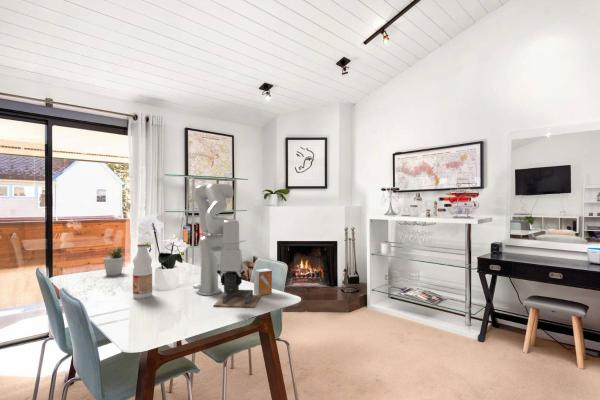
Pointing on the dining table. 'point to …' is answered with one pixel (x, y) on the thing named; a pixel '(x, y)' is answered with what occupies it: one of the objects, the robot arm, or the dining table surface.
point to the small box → (263, 281)
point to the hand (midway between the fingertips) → (231, 284)
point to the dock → (238, 300)
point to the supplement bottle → (231, 283)
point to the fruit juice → (142, 273)
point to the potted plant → (114, 262)
